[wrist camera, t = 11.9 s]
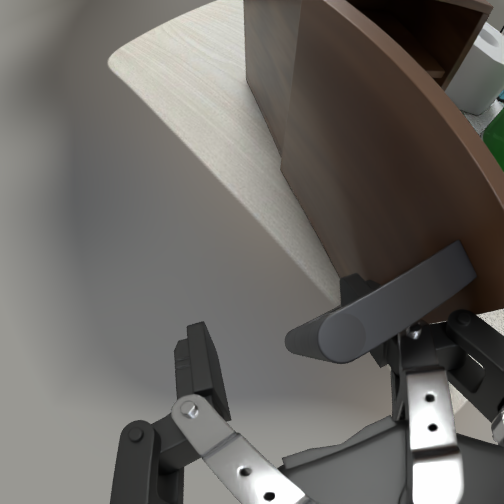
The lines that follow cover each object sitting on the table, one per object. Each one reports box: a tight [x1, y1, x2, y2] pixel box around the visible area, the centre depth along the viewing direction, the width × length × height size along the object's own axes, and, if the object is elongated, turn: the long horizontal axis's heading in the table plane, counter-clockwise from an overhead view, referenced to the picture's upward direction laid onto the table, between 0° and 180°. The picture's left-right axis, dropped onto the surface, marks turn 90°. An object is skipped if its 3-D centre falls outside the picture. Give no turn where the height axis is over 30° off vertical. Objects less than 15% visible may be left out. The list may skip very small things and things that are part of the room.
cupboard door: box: [280, 0, 504, 364], centre depth 14 cm, size 7×14×15 cm, turn 25°
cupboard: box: [244, 0, 493, 158], centre depth 19 cm, size 10×14×16 cm
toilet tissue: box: [445, 22, 504, 115], centre depth 24 cm, size 9×13×9 cm
